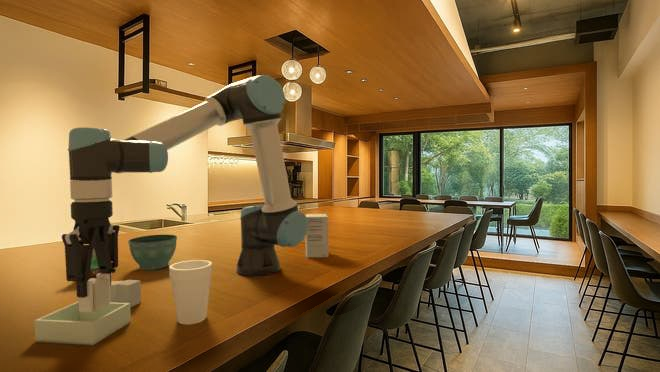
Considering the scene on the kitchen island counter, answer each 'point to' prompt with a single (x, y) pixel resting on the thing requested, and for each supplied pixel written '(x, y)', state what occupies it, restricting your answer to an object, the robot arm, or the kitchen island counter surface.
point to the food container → (94, 266)
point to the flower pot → (153, 250)
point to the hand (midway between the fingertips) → (95, 306)
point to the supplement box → (317, 236)
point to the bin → (81, 324)
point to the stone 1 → (100, 293)
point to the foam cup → (191, 289)
